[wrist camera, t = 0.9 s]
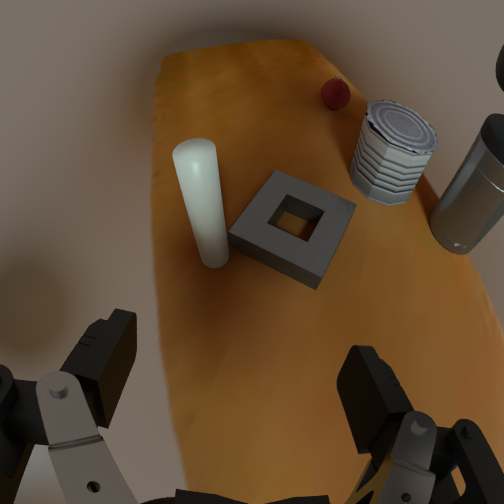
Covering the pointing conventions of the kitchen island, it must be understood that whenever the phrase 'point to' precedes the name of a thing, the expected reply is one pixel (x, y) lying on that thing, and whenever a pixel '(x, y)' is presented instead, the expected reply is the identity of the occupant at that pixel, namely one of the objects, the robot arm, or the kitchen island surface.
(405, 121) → the can
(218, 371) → the kitchen island surface
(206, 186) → the long pin
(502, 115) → the robot arm
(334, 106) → the onion
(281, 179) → the hole plate
